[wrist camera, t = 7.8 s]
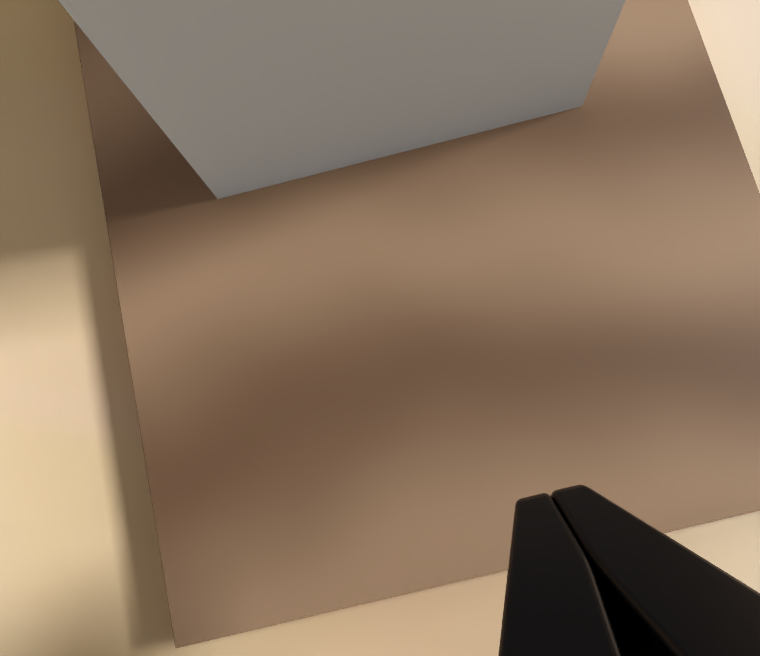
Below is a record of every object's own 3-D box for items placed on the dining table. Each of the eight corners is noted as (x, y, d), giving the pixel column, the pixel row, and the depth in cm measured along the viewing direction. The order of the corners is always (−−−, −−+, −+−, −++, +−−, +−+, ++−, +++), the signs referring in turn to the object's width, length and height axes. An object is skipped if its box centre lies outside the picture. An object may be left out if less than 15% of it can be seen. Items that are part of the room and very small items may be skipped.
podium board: (835, 483, 16) (867, 484, 15) (194, 634, 16) (175, 647, 15) (580, -220, 20) (589, -263, 19) (73, -86, 20) (51, -119, 19)
